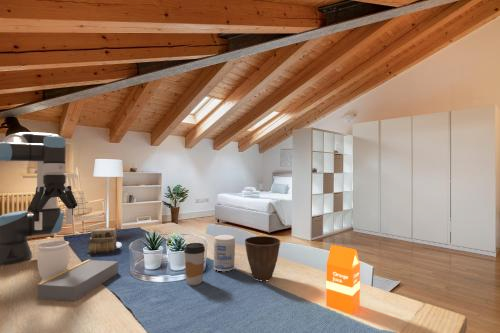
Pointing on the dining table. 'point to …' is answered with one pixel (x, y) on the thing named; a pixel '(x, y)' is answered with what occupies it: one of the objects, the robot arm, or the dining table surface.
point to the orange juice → (343, 279)
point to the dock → (77, 280)
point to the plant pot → (262, 256)
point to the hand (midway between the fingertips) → (54, 226)
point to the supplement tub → (224, 252)
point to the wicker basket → (102, 240)
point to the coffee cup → (194, 263)
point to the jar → (52, 258)
